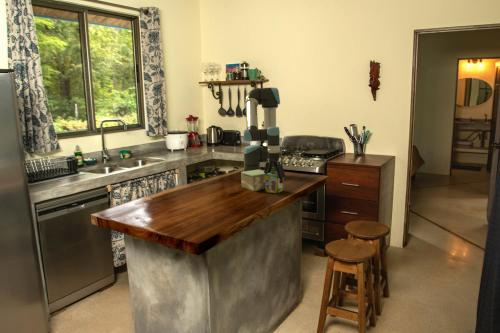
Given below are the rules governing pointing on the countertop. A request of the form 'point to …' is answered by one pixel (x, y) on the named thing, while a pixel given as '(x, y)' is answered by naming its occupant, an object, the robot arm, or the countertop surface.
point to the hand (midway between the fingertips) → (274, 186)
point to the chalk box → (272, 182)
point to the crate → (253, 182)
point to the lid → (254, 173)
